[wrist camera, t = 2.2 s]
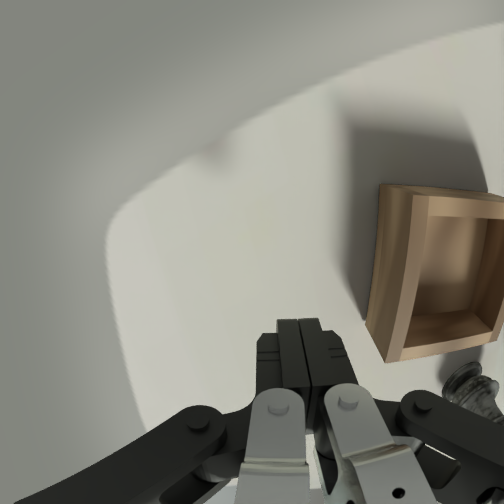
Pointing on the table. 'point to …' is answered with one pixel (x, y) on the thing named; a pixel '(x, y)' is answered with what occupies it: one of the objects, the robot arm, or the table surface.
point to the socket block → (436, 271)
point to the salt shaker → (474, 392)
